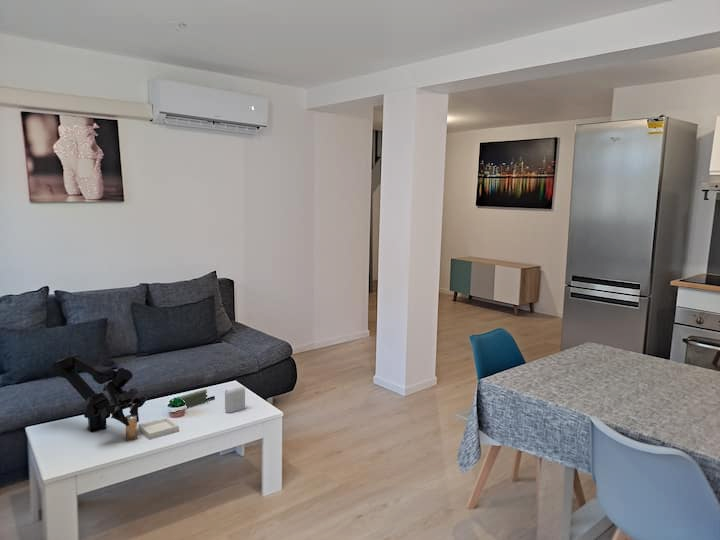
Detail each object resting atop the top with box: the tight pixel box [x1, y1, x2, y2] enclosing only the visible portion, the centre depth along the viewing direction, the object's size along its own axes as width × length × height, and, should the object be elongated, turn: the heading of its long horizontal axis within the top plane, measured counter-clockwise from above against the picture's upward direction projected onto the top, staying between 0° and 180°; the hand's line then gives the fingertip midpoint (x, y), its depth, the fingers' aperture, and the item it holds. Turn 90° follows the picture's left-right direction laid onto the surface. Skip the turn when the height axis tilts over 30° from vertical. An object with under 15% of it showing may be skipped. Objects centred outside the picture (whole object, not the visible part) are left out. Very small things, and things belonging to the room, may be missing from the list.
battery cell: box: [125, 413, 138, 442], centre depth 226 cm, size 4×4×10 cm
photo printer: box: [224, 384, 246, 414], centre depth 260 cm, size 10×4×12 cm, turn 134°
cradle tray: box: [137, 417, 180, 440], centre depth 236 cm, size 13×13×2 cm
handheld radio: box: [169, 388, 216, 409], centre depth 266 cm, size 7×3×25 cm
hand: (133, 423), depth 225 cm, fingers closed on battery cell, 4 cm apart
